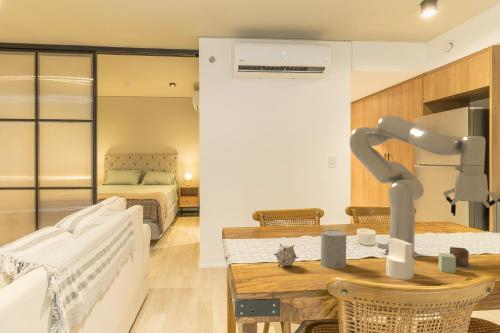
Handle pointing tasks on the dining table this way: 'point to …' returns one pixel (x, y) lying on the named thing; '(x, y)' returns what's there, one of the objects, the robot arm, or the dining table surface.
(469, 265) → the build pad
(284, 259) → the grey spiked polyhedron
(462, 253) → the walnut block
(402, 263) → the base with upright slab
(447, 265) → the green block
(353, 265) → the dining table surface
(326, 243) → the grey cylinder
